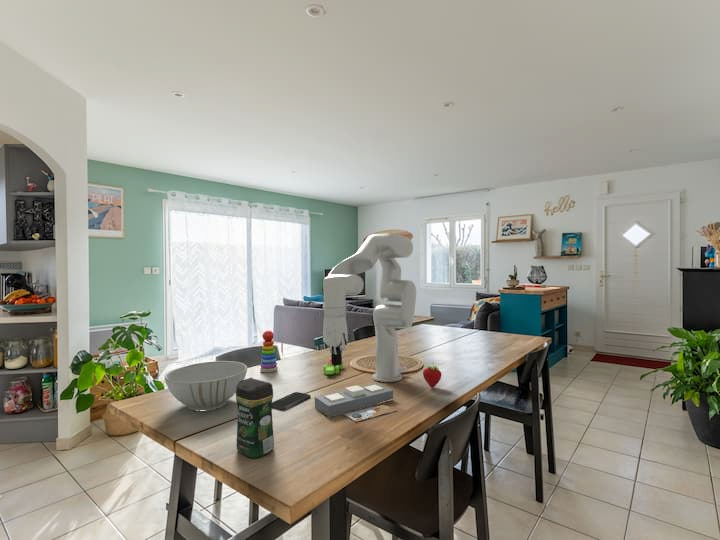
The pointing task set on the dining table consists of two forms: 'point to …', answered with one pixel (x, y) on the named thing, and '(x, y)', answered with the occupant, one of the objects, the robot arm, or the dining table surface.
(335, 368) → the toy crocodile
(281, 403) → the phone
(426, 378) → the strawberry
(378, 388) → the button
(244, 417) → the coffee jar
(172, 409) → the dining table surface
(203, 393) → the decorative bowl
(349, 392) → the middle button
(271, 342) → the stacking toy
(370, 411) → the pattern card
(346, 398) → the button board
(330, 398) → the button
